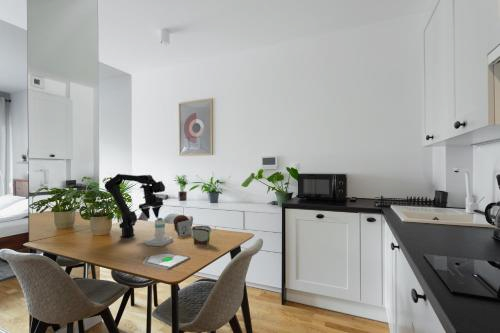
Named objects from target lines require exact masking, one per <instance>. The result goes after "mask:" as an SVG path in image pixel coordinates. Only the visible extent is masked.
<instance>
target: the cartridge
mask: <svg viewBox="0 0 500 333" xmlns="http://www.w3.org/2000/svg"><path fill="white" fill-rule="evenodd" d="M165 222H166V219H163V218H162V217H158V218H156V219H155V220H154V237H155V241H158V242H163V241H165V237H166V235H165V234H166V232H165V226H166V223H165Z"/></svg>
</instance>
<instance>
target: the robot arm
mask: <svg viewBox="0 0 500 333" xmlns="http://www.w3.org/2000/svg"><path fill="white" fill-rule="evenodd" d="M123 181H129V182H137V183H138V184H141V186H140V187H139V189H143V195H144V196H143V197H142V198H143V199H144V201H145V202H144V203H140V204H139V205H138V209H139V210H140V211H141V212H142V213H143V214H144V216H145V217H146V219H148V220H149V219H150V217H151V215H150V209H151V210H152V212H153V215H154V217H155V218H156V219H157V218H159V213H160V211H161V210H160V209H161V208H162V207H163V206H164V201H163V200H164V198H163V197H158V196H157V195H156V194H157V193H163V192H165V191H166V186H165V184H164V183H163V180H159V181H158V182H157V181H156V180H155V179H154V178H153V176H152V175H151V174H143V175H142V174H141V175H136V174H135V175H134V174H125V173H118V174H116V175H115V176H114V177H112V178H110V179H109V180H108V181H106V182H105V183H104V188H105V189H106V191H107V192H108V193H109V194H111V196H112V197H113V199H114V201H115V202H116V204H117V207H118V209H119V210H120V213H121V220H122V222H120V224H118V226H119V229H121V235H120V236H119V237H120V238H126V239H127V238H131V237H133V236H136V234H134V233H135V232H134V231H135V230H134V226H135V225H136V223H137V221H138V215H137V214H136V211H135V210H133V211H132V210H130V207H129V206H128V203H127V202H126V200H125V198H124V196H123V195H122V193H121V184H122V183H123Z"/></svg>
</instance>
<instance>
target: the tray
mask: <svg viewBox="0 0 500 333" xmlns="http://www.w3.org/2000/svg"><path fill="white" fill-rule="evenodd" d="M172 242H174V237H173V236H165V241H163V242H158V241H155V236H154V237H152V238H150V239H147V240H146V241H145V245H146V246H156V247H164V246H166V245H168V244H170V243H172Z"/></svg>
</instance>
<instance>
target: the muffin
mask: <svg viewBox="0 0 500 333" xmlns="http://www.w3.org/2000/svg"><path fill="white" fill-rule="evenodd" d="M172 221H173V227H174V230H175V231H177V226H176V224H178V223H179V222H183V221H190V219H189V217H188V216H187V215H184V214H179V215H177V216H175V217H174V218H173V220H172ZM178 230H179V228H178Z"/></svg>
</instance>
